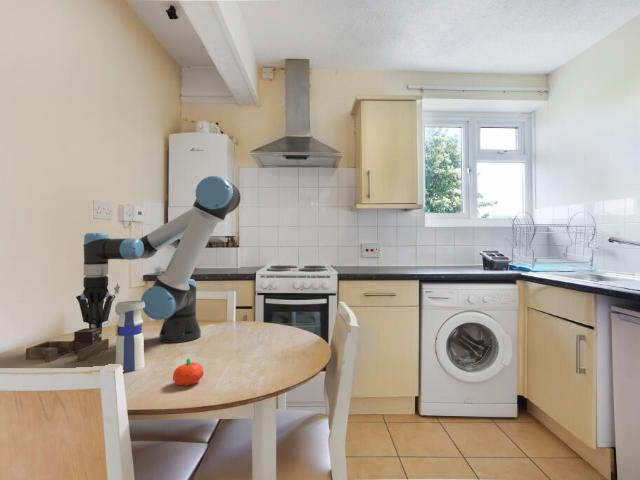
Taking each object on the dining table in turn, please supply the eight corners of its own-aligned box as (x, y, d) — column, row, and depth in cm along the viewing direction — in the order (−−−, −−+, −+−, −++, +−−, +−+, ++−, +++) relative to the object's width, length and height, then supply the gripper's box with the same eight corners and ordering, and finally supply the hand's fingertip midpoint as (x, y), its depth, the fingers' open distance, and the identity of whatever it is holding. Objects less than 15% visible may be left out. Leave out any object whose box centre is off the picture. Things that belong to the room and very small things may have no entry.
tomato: (167, 390, 90) (164, 364, 90) (189, 378, 98) (186, 355, 98) (189, 390, 88) (186, 363, 88) (210, 378, 95) (207, 354, 95)
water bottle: (111, 375, 99) (111, 285, 100) (115, 365, 107) (115, 282, 108) (144, 370, 103) (144, 283, 103) (145, 362, 110) (145, 281, 111)
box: (91, 353, 120) (91, 331, 120) (73, 353, 119) (73, 331, 120) (102, 348, 126) (102, 327, 126) (84, 348, 126) (84, 327, 126)
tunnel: (108, 348, 125) (108, 338, 125) (81, 361, 111) (81, 350, 111) (53, 349, 125) (53, 339, 125) (19, 362, 111) (19, 350, 111)
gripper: (120, 275, 131) (119, 339, 131) (85, 275, 131) (84, 339, 131) (107, 277, 124) (107, 345, 123) (70, 276, 124) (69, 344, 124)
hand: (95, 342), depth 127 cm, fingers closed
